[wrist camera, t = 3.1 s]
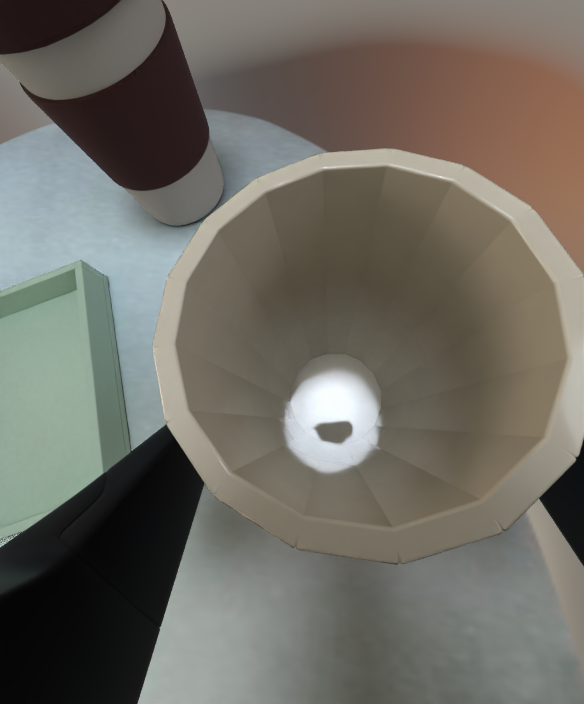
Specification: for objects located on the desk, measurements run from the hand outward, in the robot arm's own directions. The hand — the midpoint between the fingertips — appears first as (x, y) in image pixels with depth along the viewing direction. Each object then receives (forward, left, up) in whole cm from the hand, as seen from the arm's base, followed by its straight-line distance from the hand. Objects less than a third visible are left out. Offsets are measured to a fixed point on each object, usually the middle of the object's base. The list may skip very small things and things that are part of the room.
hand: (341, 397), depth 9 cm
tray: (+8, +22, -9) cm, 25 cm away
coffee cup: (+22, +6, -9) cm, 24 cm away
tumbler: (+1, 0, -9) cm, 9 cm away
